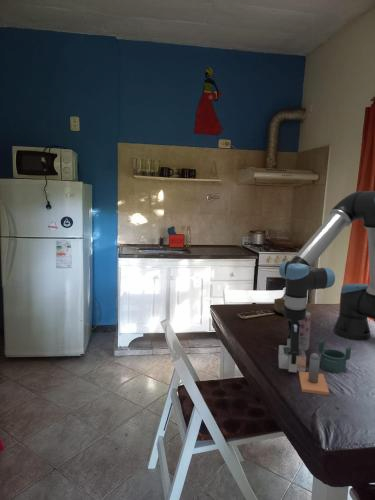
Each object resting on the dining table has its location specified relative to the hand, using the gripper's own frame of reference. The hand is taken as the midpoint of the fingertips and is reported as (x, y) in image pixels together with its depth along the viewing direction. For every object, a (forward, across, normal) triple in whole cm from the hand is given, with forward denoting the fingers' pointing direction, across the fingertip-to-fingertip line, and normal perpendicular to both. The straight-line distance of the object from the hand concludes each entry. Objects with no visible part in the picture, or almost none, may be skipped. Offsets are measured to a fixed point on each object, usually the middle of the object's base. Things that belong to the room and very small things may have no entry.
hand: (291, 363), depth 130 cm
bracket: (+1, -1, +14) cm, 15 cm away
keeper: (0, +13, +6) cm, 14 cm away
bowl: (+1, -63, +1) cm, 63 cm away
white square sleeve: (0, 0, 0) cm, 0 cm away
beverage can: (+1, -16, +5) cm, 17 cm away
